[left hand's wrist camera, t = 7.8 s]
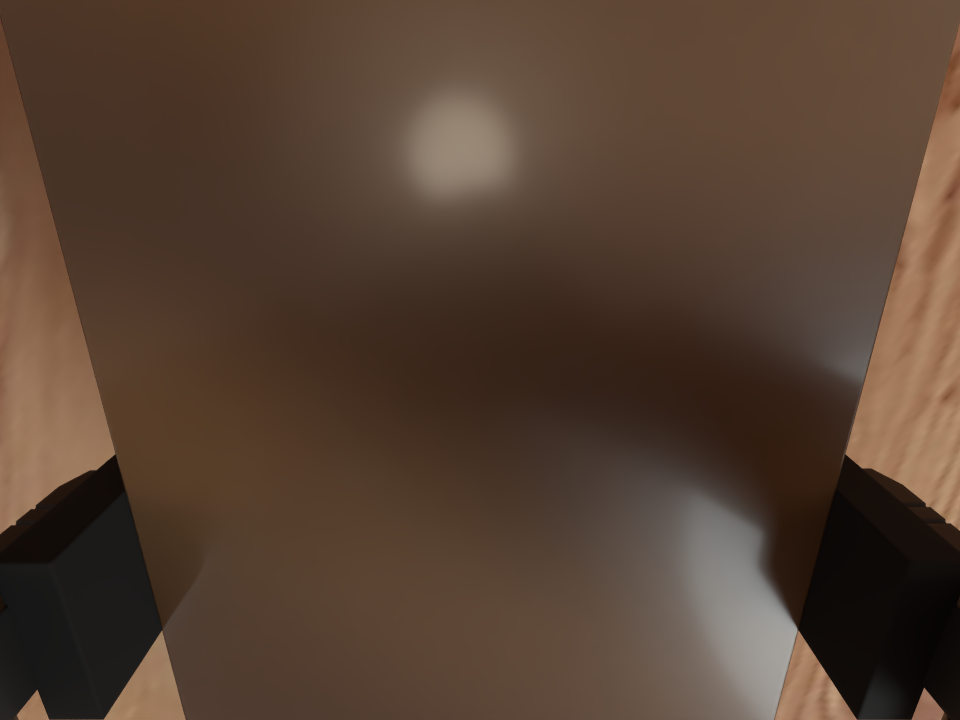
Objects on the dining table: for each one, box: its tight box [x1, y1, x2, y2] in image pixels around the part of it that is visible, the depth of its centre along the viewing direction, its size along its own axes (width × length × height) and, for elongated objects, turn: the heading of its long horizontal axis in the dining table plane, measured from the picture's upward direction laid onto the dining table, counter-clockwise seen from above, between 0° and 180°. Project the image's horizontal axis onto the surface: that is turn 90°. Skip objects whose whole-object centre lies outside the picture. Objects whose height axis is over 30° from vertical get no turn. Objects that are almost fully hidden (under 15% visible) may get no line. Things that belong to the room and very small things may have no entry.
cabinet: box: [0, 0, 960, 720], centre depth 11 cm, size 19×10×8 cm, turn 0°
